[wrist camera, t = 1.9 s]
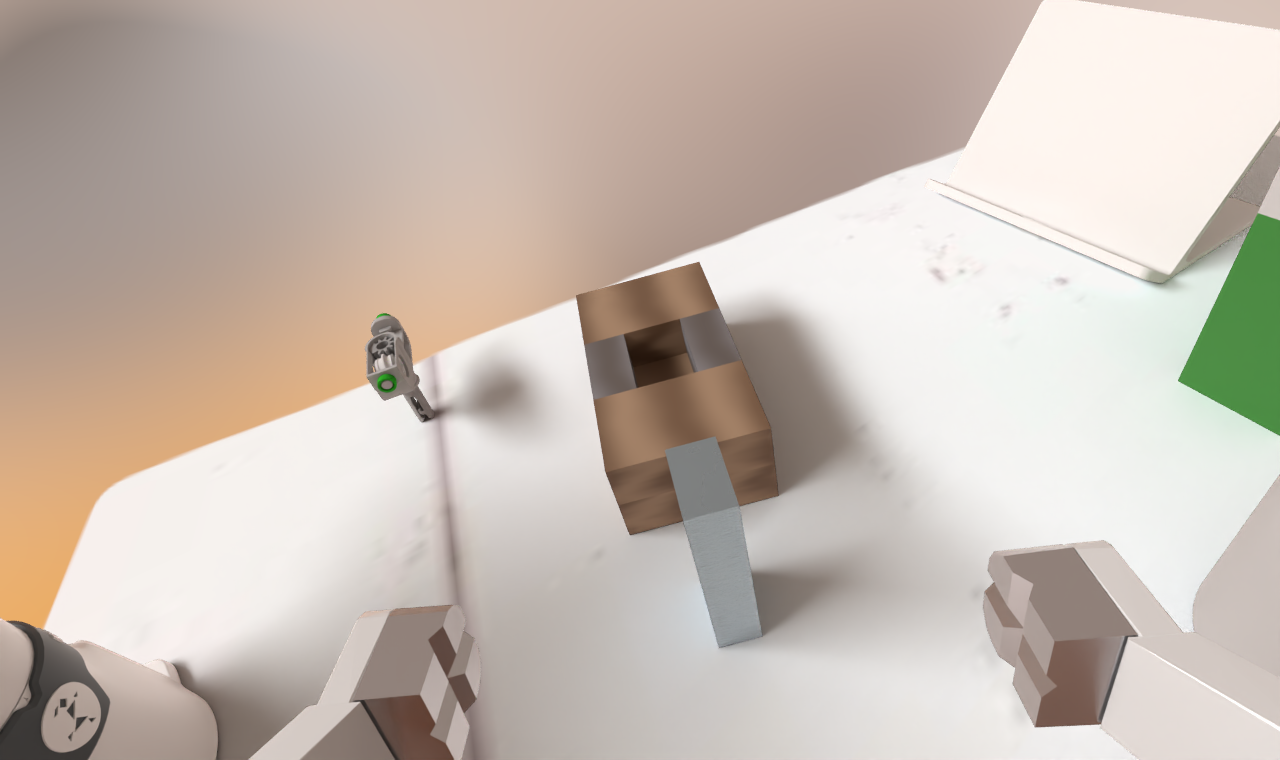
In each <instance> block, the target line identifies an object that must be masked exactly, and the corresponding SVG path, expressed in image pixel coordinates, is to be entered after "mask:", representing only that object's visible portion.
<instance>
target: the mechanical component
mask: <svg viewBox="0 0 1280 760" xmlns="http://www.w3.org/2000/svg"><path fill="white" fill-rule="evenodd" d="M371 332H372V335H373V336H374V337H373V338H372V339H370V340H369V341H368V343H367V344H366V346H365V351H366V352H367V378H368V380H369V382H370V383H371V384H372V386H373V387H374V389H375V390H376V391H377V392H378V394H379V395H380V397H381V398H382V399H383V400H384V401H385V400H388V399H391V398H394V397H396V396H399V395H402V394H403V395H404V397H405V398H406V400H407V401H408V403H409V405H410V406H411V408H412V409H413V411H414V412H415V414H416V416H417V417H418V419H419V420H420V421H421V422H423V420H424V419H425V417H424V415H427V416H428V418H433V417H434V412H433V410H432V409H431V407H430V405H429V404H428V402H427V401H426V399H425V397H424V396H423V394H422V392H421V391H420V389H419V387H418V384H419V380H420V379H419V376H418V375H416V374H415V373H414V371H413V364H412V352H411V345H410V342H409V339H408V337H407V335H406V333H405V331H404V329H403V327H402V326H401V324H400V322H399V321H398V320H397V319H396V318H395V317H392V316H391V315H389V314H386V313H383V314H380V315H378V316H377V318H376V319H375V320H374V321H373V322H372V325H371ZM372 366H373V367H374V369H375V372H373V368H372ZM414 397H415V398H416V399H417V402H416V400H415V399H414Z"/></svg>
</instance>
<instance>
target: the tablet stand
mask: <svg viewBox="0 0 1280 760" xmlns="http://www.w3.org/2000/svg"><path fill="white" fill-rule="evenodd" d="M1279 127H1280V30H1276V29H1269V28H1262V27H1256V26H1249V25H1241V24H1235V23H1228V22H1220V21H1214V20H1207V19H1200V18H1193V17H1187V16H1179V15H1173V14H1166V13H1159V12H1152V11H1146V10H1139V9H1131V8H1125V7H1117V6H1111V5H1104V4H1097V3H1090V2H1084V1H1077V0H1044V1H1043V2H1042V3H1041V5H1040V7H1039V9H1038V11H1037V12H1036V14H1035V16H1034V18H1033V20H1032V22H1031V24H1030V26H1029V28H1028V30H1027V32H1026V33H1025V35H1024V37H1023V39H1022V41H1021V43H1020V45H1019V47H1018V49H1017V50H1016V52H1015V54H1014V56H1013V58H1012V60H1011V62H1010V64H1009V66H1008V68H1007V70H1006V72H1005V73H1004V75H1003V77H1002V79H1001V81H1000V83H999V85H998V87H997V88H996V90H995V92H994V94H993V96H992V98H991V100H990V102H989V104H988V106H987V107H986V109H985V111H984V113H983V115H982V117H981V119H980V121H979V123H978V125H977V126H976V128H975V130H974V132H973V134H972V136H971V138H970V140H969V142H968V144H967V145H966V147H965V149H964V151H963V153H962V155H961V157H960V159H959V161H958V163H957V164H956V166H955V168H954V170H953V172H952V174H951V176H950V178H949V180H948V181H947V183H946V184H943V183H940V182H937V181H934V180H931V179H928V180H927V182H926V184H925V186H924V187H925V188H928V189H930V190H932V191H935V192H937V193H940V194H942V195H944V196H947V197H949V198H951V199H954V200H956V201H958V202H961V203H963V204H966V205H968V206H970V207H973V208H975V209H977V210H980V211H982V212H985V213H987V214H989V215H992V216H994V217H996V218H999V219H1001V220H1003V221H1006V222H1008V223H1011V224H1013V225H1015V226H1018V227H1020V228H1022V229H1025V230H1027V231H1030V232H1032V233H1034V234H1037V235H1039V236H1041V237H1044V238H1046V239H1048V240H1051V241H1053V242H1056V243H1058V244H1060V245H1063V246H1065V247H1067V248H1070V249H1072V250H1075V251H1077V252H1079V253H1082V254H1084V255H1086V256H1089V257H1091V258H1094V259H1096V260H1098V261H1101V262H1103V263H1105V264H1108V265H1110V266H1112V267H1115V268H1117V269H1120V270H1122V271H1124V272H1127V273H1129V274H1131V275H1134V276H1136V277H1139V278H1141V279H1144V280H1147V281H1151V282H1156V283H1161V284H1162V283H1164V282H1165V281H1167V280H1168V279H1170V278H1171V277H1173V276H1174V275H1176V274H1177V273H1179V272H1180V271H1182V270H1183V269H1185V268H1186V267H1188V266H1190V265H1191V264H1193V263H1194V262H1196V261H1197V260H1199V259H1200V258H1202V257H1203V256H1205V255H1206V254H1208V253H1209V252H1211V251H1212V250H1214V249H1216V248H1217V247H1219V246H1220V245H1222V244H1223V243H1225V242H1226V241H1228V240H1229V239H1231V238H1232V237H1234V236H1235V235H1237V234H1239V233H1240V232H1242V231H1243V230H1245V229H1246V228H1248V227H1249V226H1251V225H1252V224H1253V222H1254V220H1255V218H1256V215H1257V213H1258V211H1259V209H1260V206H1257V205H1254V204H1251V203H1247V202H1244V201H1241V200H1238V199H1235V198H1231V197H1230V196H1231V194H1232V193H1233V192H1234V190H1235V189H1236V187H1237V186H1238V185H1239V183H1240V182H1241V180H1242V179H1243V178H1244V176H1245V175H1246V173H1247V172H1248V171H1249V169H1250V168H1251V166H1252V165H1253V164H1254V162H1255V161H1256V159H1257V158H1258V157H1259V155H1260V154H1261V152H1262V151H1263V150H1264V148H1265V147H1266V145H1267V144H1268V143H1269V141H1270V140H1271V138H1272V137H1273V136H1274V134H1275V133H1276V131H1277V130H1278V129H1279Z"/></svg>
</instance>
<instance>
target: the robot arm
mask: <svg viewBox="0 0 1280 760" xmlns="http://www.w3.org/2000/svg"><path fill="white" fill-rule="evenodd" d="M988 572H989V574H990V576H991V577H992V579H993V581H994V583H993V584H992V585H991V586H990V587H989V588H988V589H987V590H986V591H985V592H984V603H983V611H984V617H985V623H986V628H987V631H988V633H989V636H990V639H991V642H992V644H993V646H994V648H995V650H996V652H997V654H998V656H999V657H1000V658H1002V659H1003V660H1005V661H1006V662H1007V663H1009V664H1010V665H1012V666H1013V667H1015V673H1014V678H1013V686H1014V688H1015V690H1016V692H1017V694H1018V695H1019V697H1020V699H1021V701H1022V703H1023V705H1024V707H1025V709H1026V711H1027V713H1028V715H1029V717H1030V719H1031V721H1032V723H1033V725H1034V727H1055V726H1077V725H1099V724H1101V726H1100V728H1101V729H1102V730H1103V731H1105V732H1106V733H1107V734H1108V735H1109V736H1111V737H1112V738H1113V739H1114V740H1115V741H1117V742H1118V743H1119V744H1120V745H1122V746H1123V747H1124V748H1125V749H1126V750H1128V751H1129V752H1130V753H1131V754H1132V755H1134V756H1135V757H1136V758H1137V759H1138V760H1280V678H1279V677H1277V676H1275V675H1273V674H1271V673H1269V672H1268V671H1266V670H1264V669H1262V668H1260V667H1258V666H1257V665H1255V664H1253V663H1251V662H1249V661H1247V660H1246V659H1244V658H1242V657H1240V656H1238V655H1236V654H1235V653H1233V652H1231V651H1229V650H1227V649H1225V648H1224V647H1222V646H1220V645H1218V644H1216V643H1214V642H1213V641H1211V640H1209V639H1207V638H1205V637H1203V636H1202V635H1200V634H1198V633H1196V632H1187V633H1183V632H1182V630H1181V629H1180V628H1179V627H1178V626H1177V624H1176V623H1175V622H1174V621H1173V619H1172V618H1171V617H1170V616H1169V615H1168V613H1167V612H1166V611H1165V610H1164V608H1163V607H1162V606H1161V605H1160V604H1159V602H1158V601H1157V600H1156V599H1155V597H1154V596H1153V595H1152V594H1151V593H1150V591H1149V590H1148V589H1147V588H1146V586H1145V585H1144V584H1143V583H1142V582H1141V580H1140V579H1139V578H1138V577H1137V575H1136V574H1135V573H1134V572H1133V571H1132V569H1131V568H1130V567H1129V566H1128V564H1127V563H1126V562H1125V561H1124V560H1123V558H1122V557H1121V556H1120V555H1119V553H1118V552H1117V551H1116V550H1115V549H1114V547H1113V546H1112V545H1111V544H1109V543H1107V542H1106V541H1104V540H1101V541H1091V542H1082V543H1072V544H1066V545H1062V544H1059V545H1050V546H1041V547H1031V548H1022V549H1013V550H1004V551H995V552H993V554H992V555H991V557H990V558H989V564H988ZM465 623H466V617H465V615H464V613H463V611H462V609H461V607H460V606H459V605H444V606H430V607H416V608H401V609H393V610H380V611H367V612H365V613H364V614H362V615H361V616H360V617H359V618H358V619H357V621H356V623H355V625H354V627H353V629H352V631H351V634H350V636H349V638H348V640H347V642H346V644H345V646H344V648H343V651H342V653H341V655H340V657H339V659H338V661H337V663H336V665H335V668H334V670H333V672H332V674H331V676H330V678H329V680H328V682H327V685H326V687H325V689H324V691H323V693H322V695H321V697H320V700H319V702H318V704H317V705H313V706H307V707H306V708H305V709H304V710H303V711H302V712H301V713H300V714H298V715H297V716H296V717H295V718H294V719H293V720H292V721H291V722H289V723H288V724H287V725H286V726H285V727H284V728H283V729H282V730H281V731H279V732H278V733H277V734H276V735H275V736H274V737H273V738H272V739H271V740H269V741H268V742H267V743H266V744H265V745H264V746H263V747H262V748H261V749H259V750H258V751H257V752H256V753H255V754H254V755H253V756H252V757H251V758H249V759H248V760H461V759H462V755H463V751H464V747H465V743H466V740H467V736H468V732H469V728H470V726H469V724H468V721H467V719H466V717H465V715H464V713H465V711H466V710H467V709H468V708H469V707H470V706H471V705H472V704H473V703H474V702H475V700H476V699H477V695H478V691H479V686H480V682H481V658H480V653H479V648H478V646H477V643H476V641H475V638H473V637H472V636H470V635H469V634H467V633H466V632H464V631H463V630H464V626H465ZM217 748H218V730H217V724H216V720H215V717H214V714H213V712H212V710H211V708H210V706H209V705H208V704H207V702H206V701H205V700H204V699H203V698H201V697H200V696H199V695H197V694H195V693H193V692H191V691H189V690H188V689H186V688H185V687H184V686H183V685H182V684H181V681H180V678H179V675H178V672H177V670H176V668H175V667H174V665H173V664H171V663H169V662H166V661H164V660H161V659H157V660H153V661H151V662H148V663H146V664H144V665H141V664H139V663H137V662H135V661H133V660H130V659H128V658H126V657H124V656H121V655H119V654H117V653H115V652H112V651H110V650H108V649H105V648H103V647H101V646H99V645H96V644H94V643H91V642H89V641H83V640H80V641H76V642H74V643H72V644H66V643H64V642H63V640H62V639H60V638H58V637H57V636H56V635H54V634H52V633H50V632H48V631H46V630H42V629H40V628H36V627H33V626H31V625H29V624H27V623H24V622H19V621H4V620H3V619H1V618H0V760H216V755H217Z"/></svg>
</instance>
